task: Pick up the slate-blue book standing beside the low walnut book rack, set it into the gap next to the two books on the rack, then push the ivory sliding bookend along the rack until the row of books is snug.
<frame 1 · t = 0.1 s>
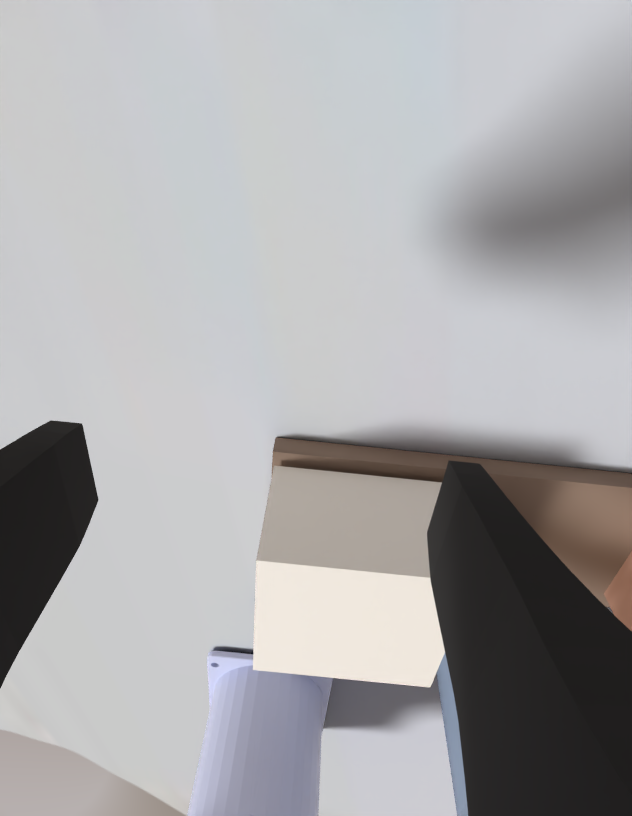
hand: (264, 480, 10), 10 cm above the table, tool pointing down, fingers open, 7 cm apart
rack: (518, 527, 25), on the table
book: (475, 633, 30), on the table
bookend: (351, 576, 21), point 4 cm above the table, slide at 5.6 cm
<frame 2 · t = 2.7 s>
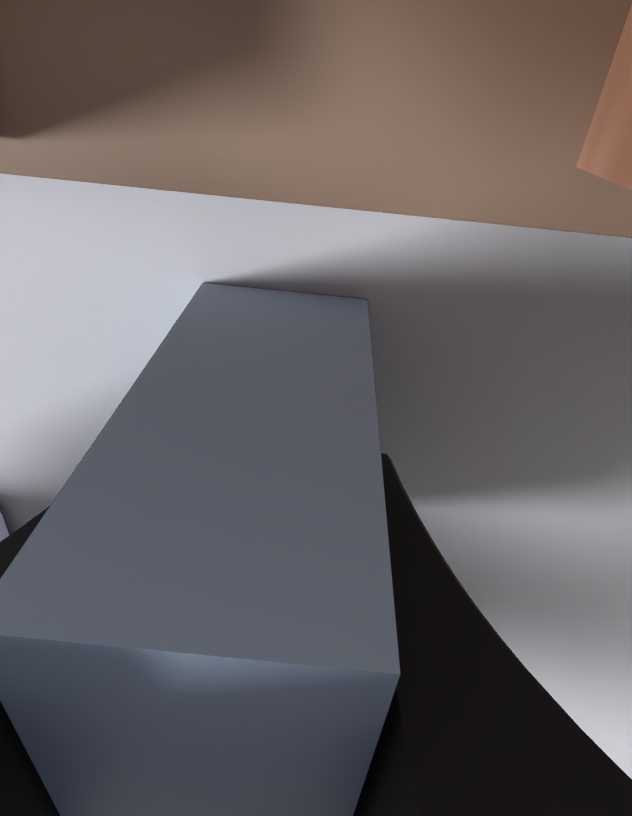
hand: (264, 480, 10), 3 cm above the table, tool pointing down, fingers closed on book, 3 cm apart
book: (278, 408, 12), on the table, touching gripper
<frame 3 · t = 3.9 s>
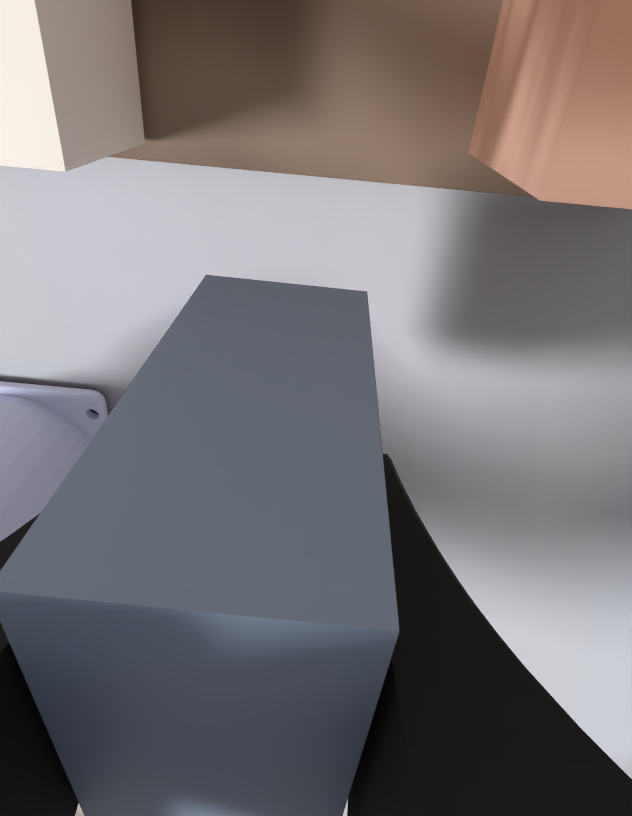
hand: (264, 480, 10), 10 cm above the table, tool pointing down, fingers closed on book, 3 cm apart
rack: (306, 9, 14), on the table
book: (279, 399, 13), point 7 cm above the table, touching gripper
when the fingers open (5 cm above the table, at t = 5.6 s): book drops 1 cm, resting on rack.
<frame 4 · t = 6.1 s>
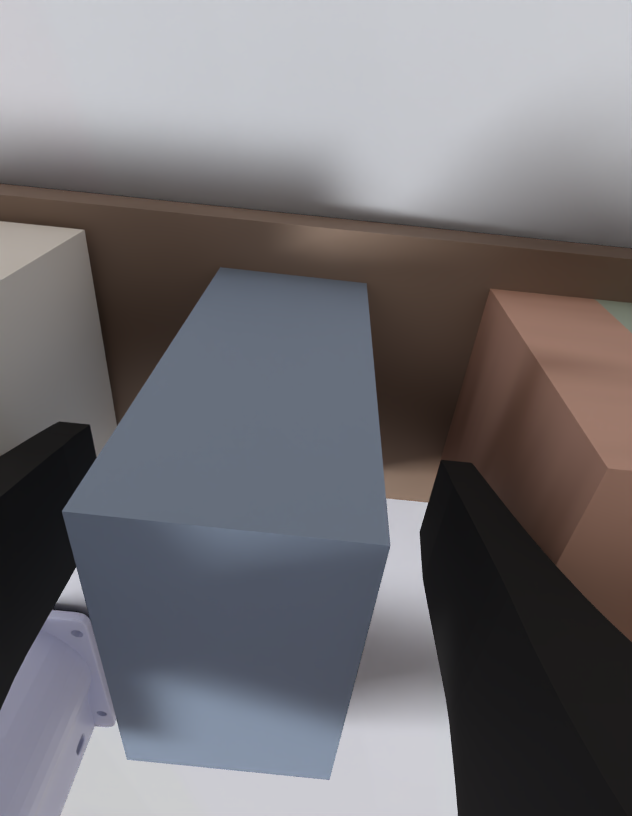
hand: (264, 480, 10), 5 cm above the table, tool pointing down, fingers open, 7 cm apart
rack: (278, 358, 14), on the table
book: (285, 382, 14), point 1 cm above the table, touching rack
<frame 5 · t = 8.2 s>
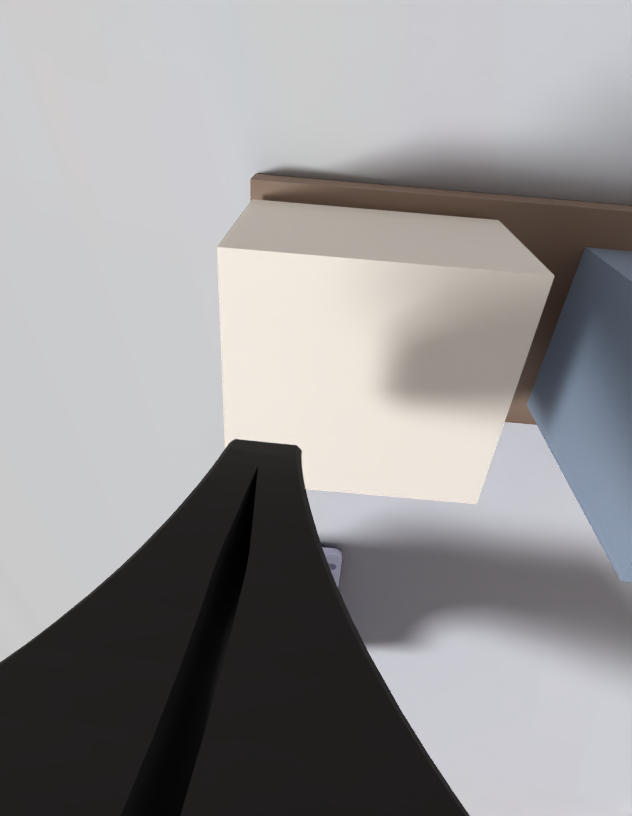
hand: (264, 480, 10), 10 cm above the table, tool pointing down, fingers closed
rack: (584, 321, 18), on the table
book: (603, 338, 18), point 1 cm above the table, touching rack
bookend: (363, 350, 15), point 4 cm above the table, slide at 5.6 cm
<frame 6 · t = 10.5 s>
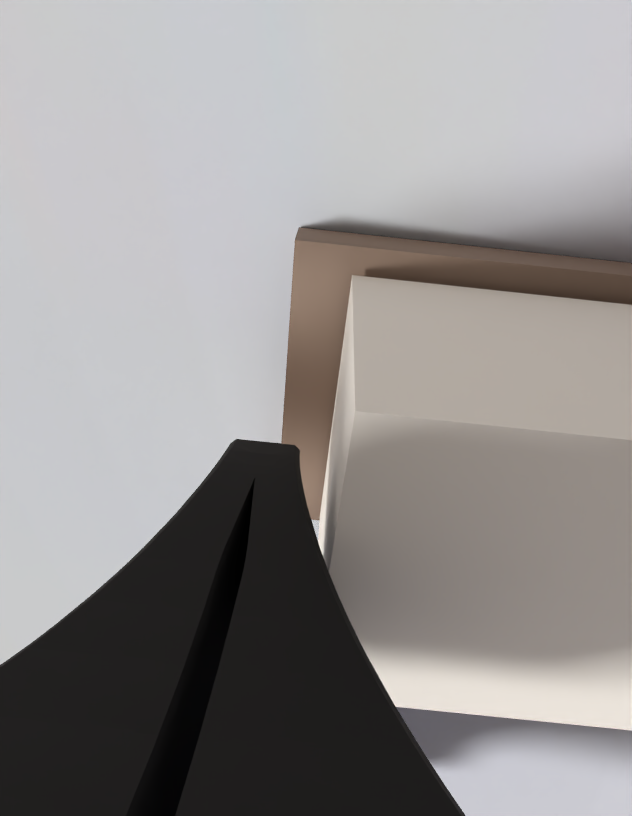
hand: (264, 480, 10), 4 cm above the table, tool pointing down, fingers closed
bookend: (513, 502, 10), point 4 cm above the table, slide at 4.5 cm, touching gripper
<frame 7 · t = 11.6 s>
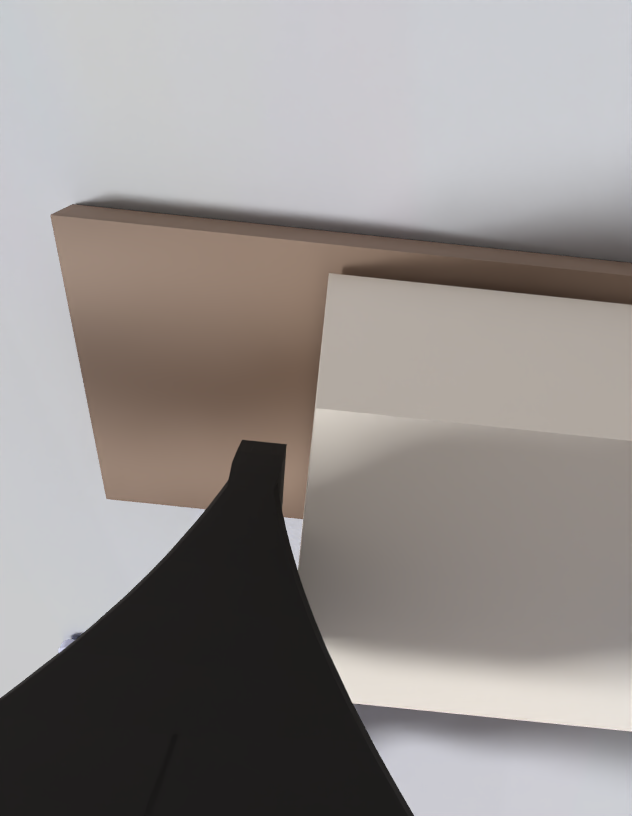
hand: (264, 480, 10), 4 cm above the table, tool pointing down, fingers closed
rack: (549, 409, 13), on the table
bookend: (490, 501, 10), point 4 cm above the table, slide at -0.1 cm, touching book, gripper
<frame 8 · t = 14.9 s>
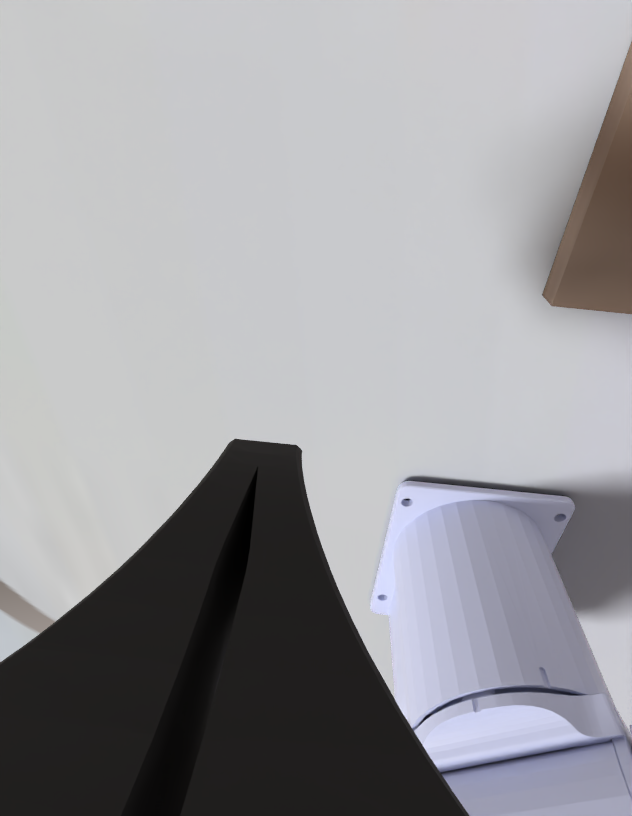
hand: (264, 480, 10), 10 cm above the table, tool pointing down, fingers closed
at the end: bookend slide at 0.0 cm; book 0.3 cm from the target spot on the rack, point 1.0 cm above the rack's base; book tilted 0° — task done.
